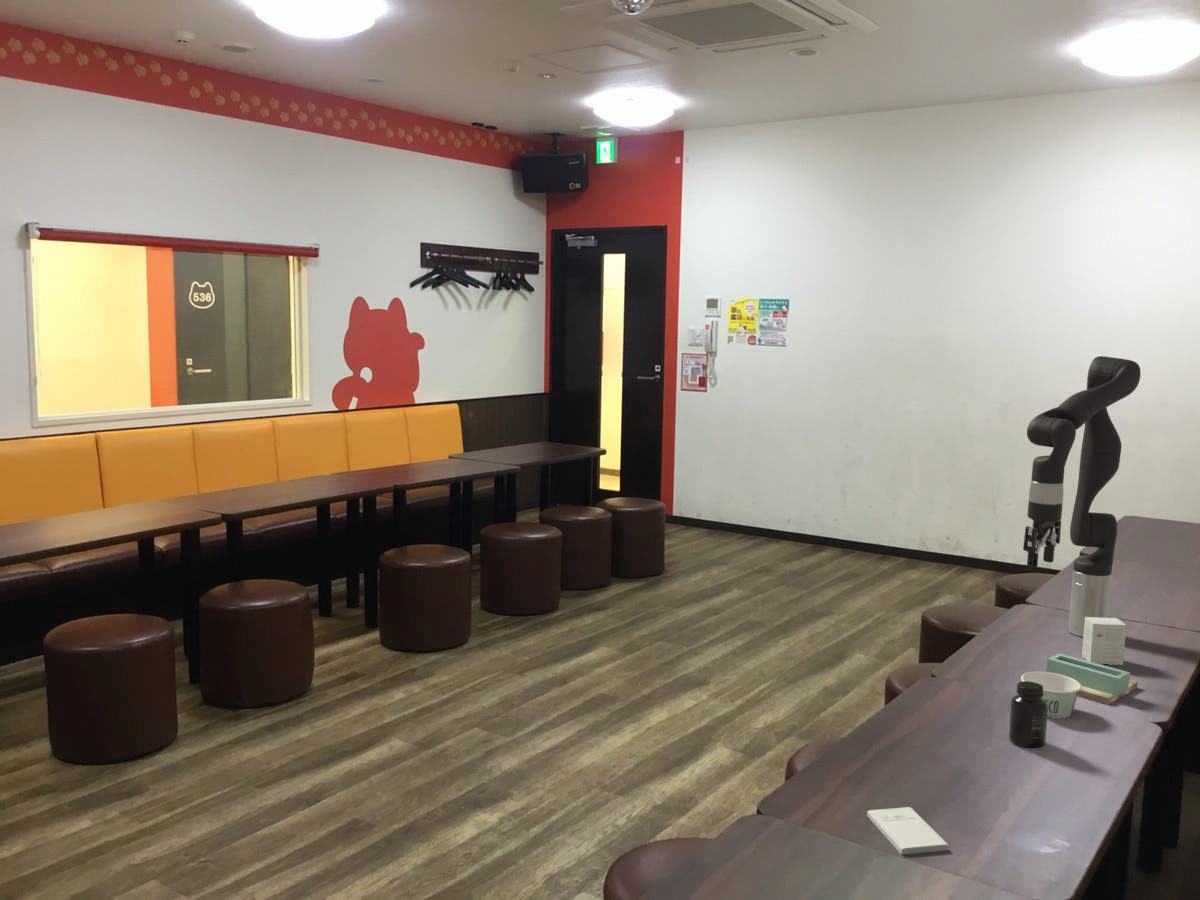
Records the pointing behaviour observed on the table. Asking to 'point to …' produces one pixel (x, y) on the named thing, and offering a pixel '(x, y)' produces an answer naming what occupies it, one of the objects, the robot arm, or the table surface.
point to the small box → (1104, 640)
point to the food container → (1056, 692)
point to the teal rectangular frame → (1090, 674)
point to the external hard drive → (907, 830)
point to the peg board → (1104, 693)
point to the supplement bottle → (1028, 716)
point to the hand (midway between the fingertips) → (1040, 564)
